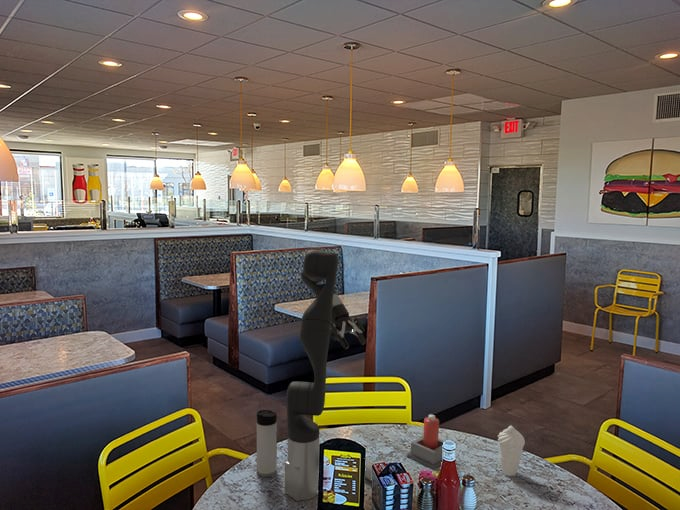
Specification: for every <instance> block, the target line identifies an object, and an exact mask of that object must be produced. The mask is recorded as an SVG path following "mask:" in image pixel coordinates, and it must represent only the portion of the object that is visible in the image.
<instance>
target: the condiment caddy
mask: <svg viewBox="0 0 680 510" xmlns="http://www.w3.org/2000/svg"><path fill="white" fill-rule="evenodd" d="M444 441H445V440H443V439H440V438H438V448H436V449H434V450H431V449H429V448H427V447H425V446H423V436H420V437H419V438H417V439H415V440H413V441H411V442H410V452H408V453H407V456H406V457H408V458H410V459H412V460H414V461H416V462H418V463H420V464H422V465H425V466H427V467H429V468H430V469H433V470H435V469H437V468H439V467H440V466H442V465H441V462H442V445H443V442H444Z"/></svg>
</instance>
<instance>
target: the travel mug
mask: <svg viewBox="0 0 680 510" xmlns="http://www.w3.org/2000/svg"><path fill="white" fill-rule="evenodd" d="M277 415H278V414H277V412H275V411H272V410H270V409H269V410H268V409H263V410H262V409H261V410H258V411H257V412H256V474H257V475H258V476H259V477H263V478H267V477H272V476H274V475H275V474H276V473H277V470H278V469H277V468H278V466H277V462H278V459H277V457H278V456H277V454H278V453H277V452H278V451H277V449H278V447H277V446H278V441H277V440H278V438H277V437H278V432H277V431H278V427H277V425H278V421H277V419H278V416H277Z"/></svg>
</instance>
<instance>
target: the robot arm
mask: <svg viewBox="0 0 680 510" xmlns="http://www.w3.org/2000/svg"><path fill="white" fill-rule="evenodd" d="M338 266H339V258H338V254H337V253H335V252H333V251H326V250H318V249H310V250H308V251H306V253H305V254H304V259H303V267H302V272H301V273H300V277H301V281H302V283H304V284H305V286H306V287H307V288H309V289H310V290H311V292H313V293H314V295H315V296H316V298H315V299H314V300H313V301H312V302H311V304H310V305H308V307H307V308H306V309H305V310H304V313H303V314H302V317H301V323H300V331H299V339H300V342H301V345H302V347H303V349H304V351H305V353H306V355H307V357H308V359H309V361H310V364H311V367H312V370H313V375H314V381H313V382H309V381H292V382H290V383H289V385H288V387H287V390H286V391H287V392H286V413H287V414H286V415H287V416H286V417H287V422H286V423H287V461H285V463H284V493H285V494H286V495H287V496H289V497H290V498H292V499H293V500H294V501H296V502H299V501H300V502H301V501H305V500H310V499H313V498H315V497H316V496H317V495H318V494H317V491H318V492H319V490H318V471H319V472H320V427H319V425H318V424H317V423H316V422H315V421H313V420H311V419H309V418H307V417H305V416H315V417H317V416H320V415H322V413H323V412H324V408H325V403H326V389H327V386H326V384H327V383H326V382H327V364H328V363H327V362H328V355H329V353H328V352H329V346H330V337H331V338H332V340H333V341H338V342H339V343H340V345H341V346H342V348H343V349H344V350H348V349H349V347H350V345H349V342H348V341H347V339H346V338H345V334H348V333H349V334H352V335H354V336H356V337H357V340H358V341H359V343H360V344H361V346H364V345H365V344H366V343H367V340H366V338H365V336H364V334H363V333H364V332H365V330H366V329H365V327H364V326H363V324H362V322H361V321H360V320H359V318H358V317H354V318H353V319H352V318H350V313H349V311H348V309H347V307H346V306H345V305H344V302H343V301H342V299H341V298H340V297H339V295H338V294H337V292H336V290H335V288H336V287H335V286H336V280H337V274H338ZM322 281H325V283H322V284H319V283H321V282H322Z"/></svg>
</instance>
